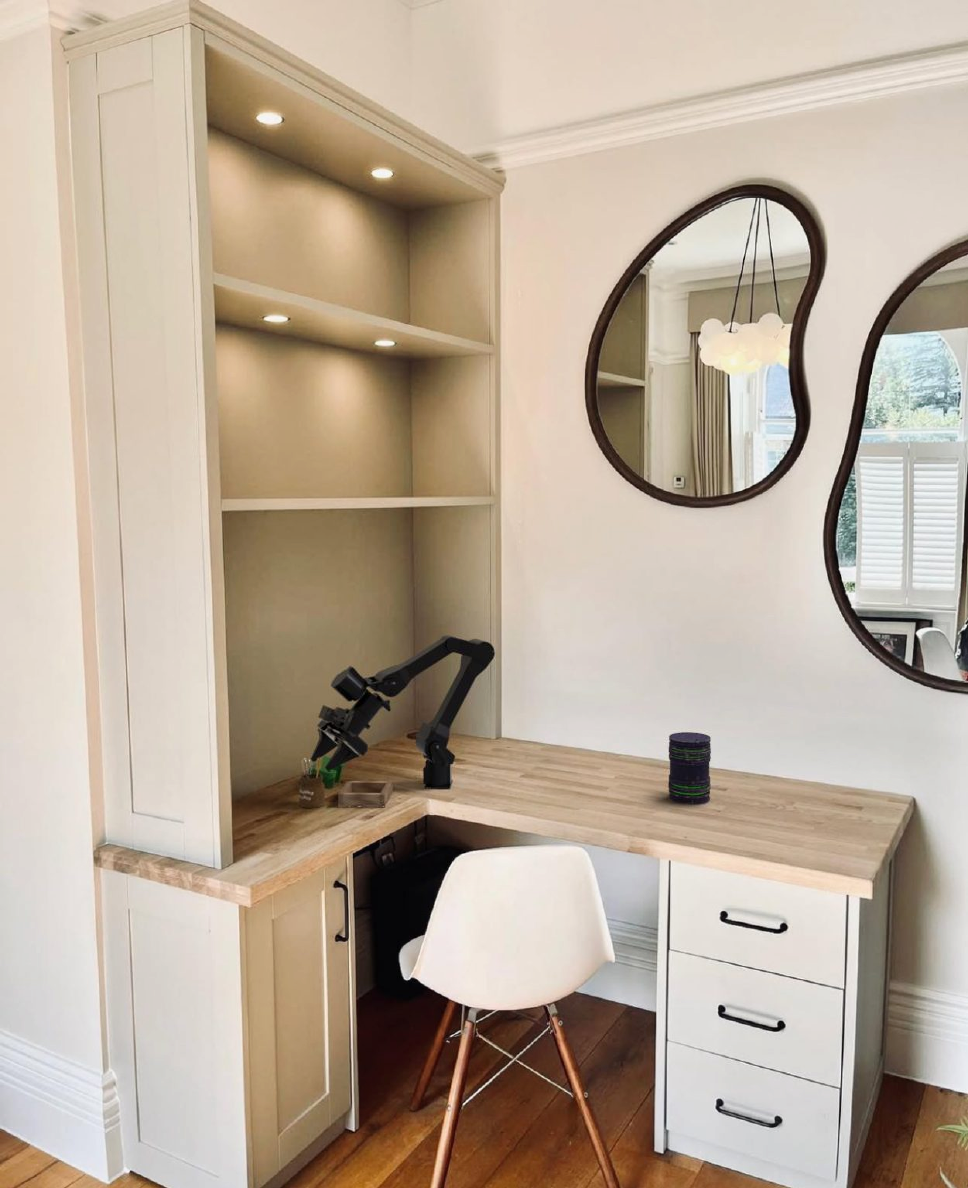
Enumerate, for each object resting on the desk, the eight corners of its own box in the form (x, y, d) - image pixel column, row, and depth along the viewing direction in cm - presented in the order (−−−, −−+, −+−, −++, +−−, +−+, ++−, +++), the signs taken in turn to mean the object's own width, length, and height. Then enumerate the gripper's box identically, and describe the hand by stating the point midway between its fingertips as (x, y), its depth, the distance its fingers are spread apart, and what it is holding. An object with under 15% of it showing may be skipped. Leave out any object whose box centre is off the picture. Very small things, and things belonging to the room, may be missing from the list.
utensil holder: (313, 799, 241) (311, 750, 240) (331, 804, 237) (329, 754, 236) (294, 805, 237) (292, 755, 235) (311, 810, 233) (310, 759, 231)
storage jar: (660, 795, 241) (660, 734, 240) (695, 790, 245) (696, 730, 243) (682, 806, 232) (682, 743, 230) (718, 802, 235) (719, 739, 234)
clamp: (327, 805, 250) (329, 778, 246) (305, 799, 251) (306, 771, 247) (345, 776, 261) (347, 749, 256) (323, 769, 261) (325, 742, 257)
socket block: (392, 795, 245) (392, 781, 245) (384, 809, 234) (384, 794, 234) (348, 794, 246) (347, 780, 245) (338, 808, 235) (338, 794, 235)
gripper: (324, 686, 246) (282, 736, 241) (354, 699, 230) (310, 753, 226) (354, 714, 251) (313, 764, 246) (386, 729, 235) (343, 782, 230)
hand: (319, 765), depth 237 cm, fingers open, 9 cm apart
